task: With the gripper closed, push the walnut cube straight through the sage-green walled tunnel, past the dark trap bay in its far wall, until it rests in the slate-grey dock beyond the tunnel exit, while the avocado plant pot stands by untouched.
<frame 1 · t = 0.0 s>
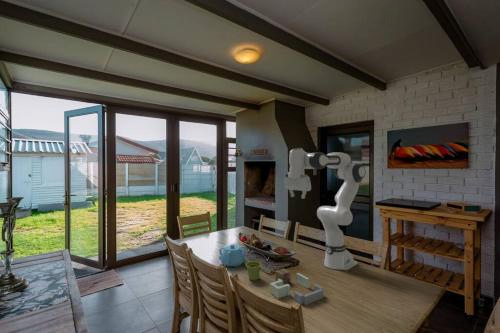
hand: (297, 197, 150), 48 cm above the table, fingers open, 8 cm apart
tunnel: (293, 288, 136), on the table
block: (283, 281, 144), on the table
decorative pot: (232, 264, 173), on the table
dock: (305, 295, 128), on the table
plant pot: (253, 278, 150), on the table
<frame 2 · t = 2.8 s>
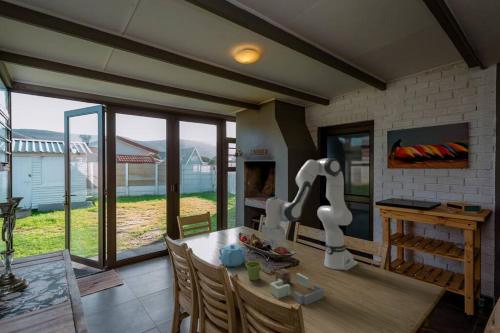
hand: (273, 246, 151), 18 cm above the table, fingers closed
nothing on the table moved.
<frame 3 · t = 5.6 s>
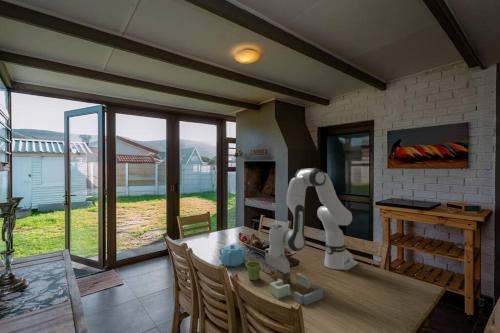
hand: (277, 275, 149), 2 cm above the table, fingers closed
block: (283, 281, 144), on the table, touching gripper
everything else where it was.
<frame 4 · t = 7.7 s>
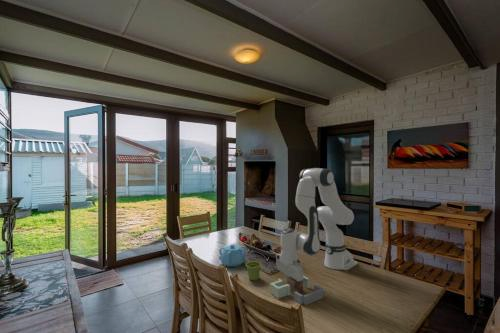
hand: (289, 282, 139), 2 cm above the table, fingers closed
block: (295, 289, 134), on the table, touching gripper
everything else where it was.
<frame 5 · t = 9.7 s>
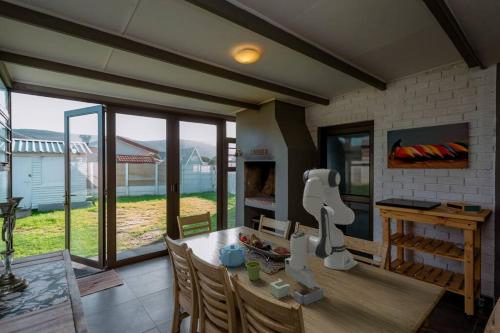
hand: (300, 289, 131), 2 cm above the table, fingers closed
block: (303, 296, 126), on the table, tilted 6°, touching dock, gripper
everything else where it was.
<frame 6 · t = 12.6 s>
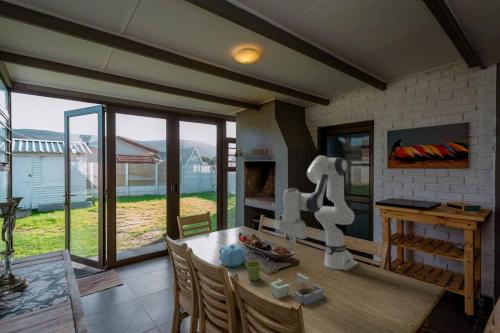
hand: (292, 243, 136), 25 cm above the table, fingers closed
block: (303, 297, 126), on the table
everything else where it was.
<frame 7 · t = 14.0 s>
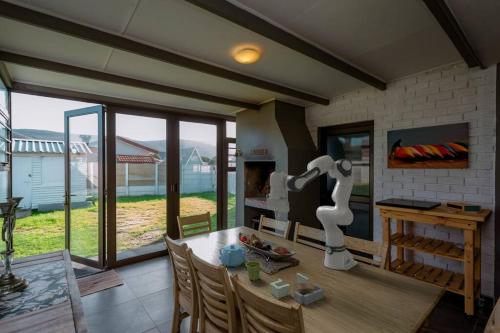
hand: (277, 217, 160), 34 cm above the table, fingers closed
nothing on the table moved.
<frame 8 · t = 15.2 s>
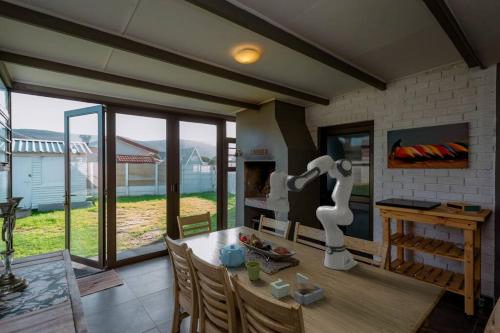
hand: (277, 217, 160), 34 cm above the table, fingers closed
nothing on the table moved.
at the end: block inside the target area (1.7 cm from its centre), on the table; block tilted 0°; block moved 19.7 cm from its start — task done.
